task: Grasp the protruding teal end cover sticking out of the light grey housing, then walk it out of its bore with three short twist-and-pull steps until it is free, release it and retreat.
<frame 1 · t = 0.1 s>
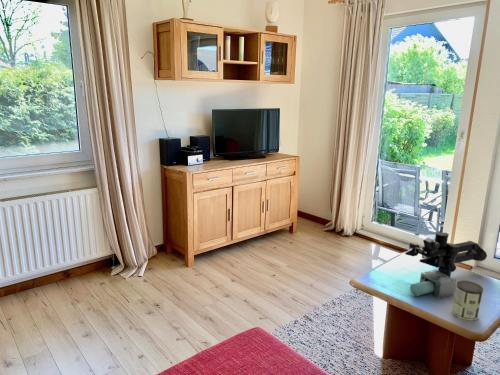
hand: (412, 257, 186), 17 cm above the table, tool horizontal, fingers open, 9 cm apart
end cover: (424, 287, 183), point 3 cm above the table, slide at 0.0 cm
coffee can: (464, 314, 167), on the table
housing: (435, 290, 187), on the table
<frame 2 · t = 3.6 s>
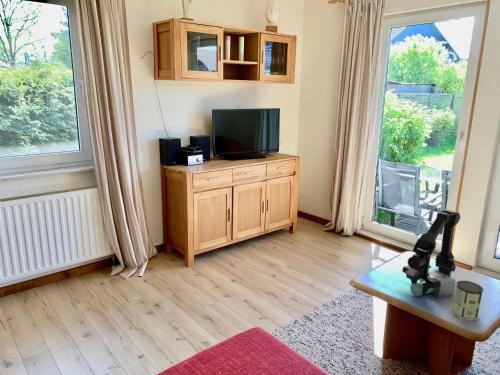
hand: (418, 291, 182), 2 cm above the table, tool pointing down, fingers closed on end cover, 6 cm apart
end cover: (424, 287, 183), point 3 cm above the table, slide at 0.0 cm, touching gripper
everything else where it was.
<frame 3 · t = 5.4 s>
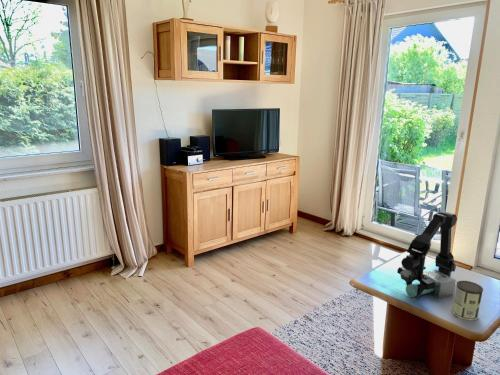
hand: (413, 293, 180), 2 cm above the table, tool pointing down, fingers closed on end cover, 6 cm apart
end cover: (420, 288, 182), point 3 cm above the table, slide at 2.9 cm, touching gripper
everything else where it was.
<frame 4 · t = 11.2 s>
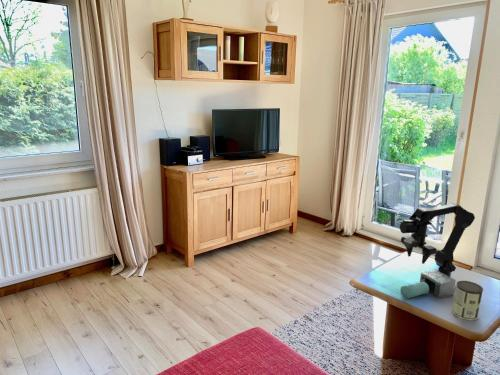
hand: (415, 259, 193), 12 cm above the table, tool pointing down, fingers open, 9 cm apart
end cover: (415, 289, 180), point 3 cm above the table, slide at 6.3 cm
everything else where it was.
at the end: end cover slide at 6.3 cm; the gripper is holding nothing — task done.
